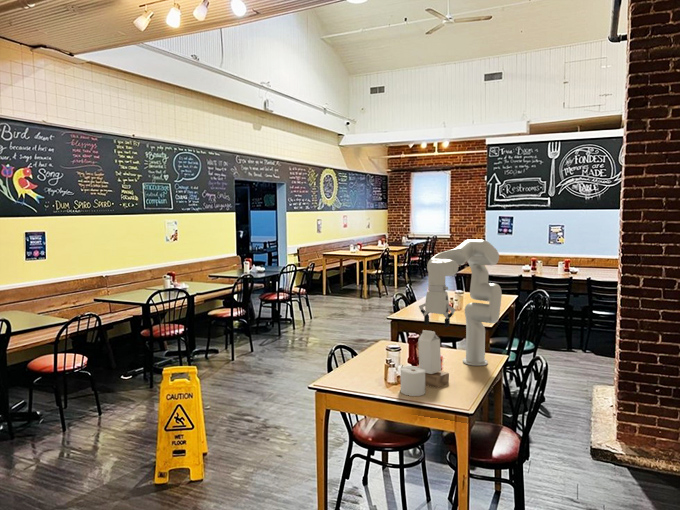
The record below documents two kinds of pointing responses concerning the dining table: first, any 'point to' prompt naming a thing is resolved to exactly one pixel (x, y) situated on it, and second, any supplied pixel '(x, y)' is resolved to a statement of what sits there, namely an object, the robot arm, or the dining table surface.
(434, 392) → the dining table surface
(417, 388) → the toilet tissue
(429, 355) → the milk carton
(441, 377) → the walnut block
